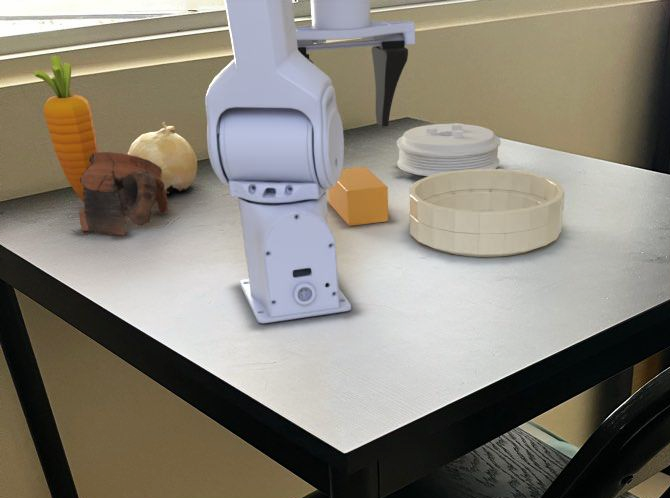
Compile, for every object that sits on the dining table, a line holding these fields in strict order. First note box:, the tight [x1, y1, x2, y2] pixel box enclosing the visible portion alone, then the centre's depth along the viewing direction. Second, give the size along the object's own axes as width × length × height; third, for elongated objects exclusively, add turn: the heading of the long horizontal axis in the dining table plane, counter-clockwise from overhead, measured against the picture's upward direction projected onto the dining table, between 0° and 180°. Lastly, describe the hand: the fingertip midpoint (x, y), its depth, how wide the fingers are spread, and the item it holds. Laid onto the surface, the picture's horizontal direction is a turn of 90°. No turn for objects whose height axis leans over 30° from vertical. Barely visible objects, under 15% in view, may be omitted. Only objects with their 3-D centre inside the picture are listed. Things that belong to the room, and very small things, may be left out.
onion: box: [127, 121, 198, 196], centre depth 102 cm, size 8×8×7 cm
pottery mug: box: [78, 151, 169, 236], centre depth 92 cm, size 12×10×8 cm
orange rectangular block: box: [327, 166, 389, 227], centre depth 94 cm, size 8×4×4 cm, turn 18°
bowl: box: [408, 168, 566, 258], centre depth 87 cm, size 15×15×4 cm
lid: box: [396, 122, 501, 177], centre depth 107 cm, size 13×13×5 cm
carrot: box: [34, 55, 99, 203], centre depth 95 cm, size 5×5×15 cm
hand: (347, 127), depth 91 cm, fingers open, 7 cm apart
